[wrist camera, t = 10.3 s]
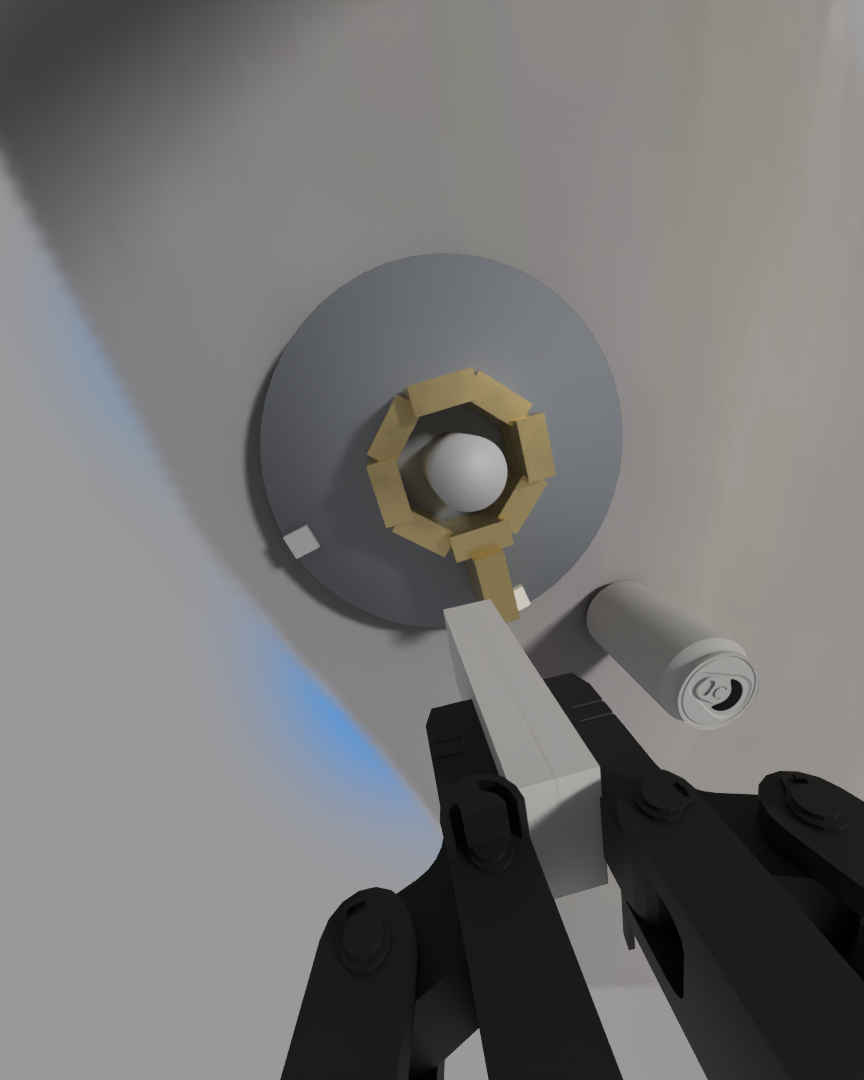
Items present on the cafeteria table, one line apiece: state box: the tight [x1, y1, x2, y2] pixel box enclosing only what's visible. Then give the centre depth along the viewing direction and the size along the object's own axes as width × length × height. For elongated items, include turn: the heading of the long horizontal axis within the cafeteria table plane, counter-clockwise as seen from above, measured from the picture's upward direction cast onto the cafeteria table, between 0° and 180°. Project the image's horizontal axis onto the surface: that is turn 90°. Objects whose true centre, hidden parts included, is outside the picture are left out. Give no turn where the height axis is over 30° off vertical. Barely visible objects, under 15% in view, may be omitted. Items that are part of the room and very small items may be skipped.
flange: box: [260, 253, 622, 628], centre depth 28 cm, size 26×26×8 cm
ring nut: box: [366, 367, 556, 623], centre depth 28 cm, size 16×11×5 cm
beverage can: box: [586, 581, 760, 730], centre depth 32 cm, size 6×6×12 cm
